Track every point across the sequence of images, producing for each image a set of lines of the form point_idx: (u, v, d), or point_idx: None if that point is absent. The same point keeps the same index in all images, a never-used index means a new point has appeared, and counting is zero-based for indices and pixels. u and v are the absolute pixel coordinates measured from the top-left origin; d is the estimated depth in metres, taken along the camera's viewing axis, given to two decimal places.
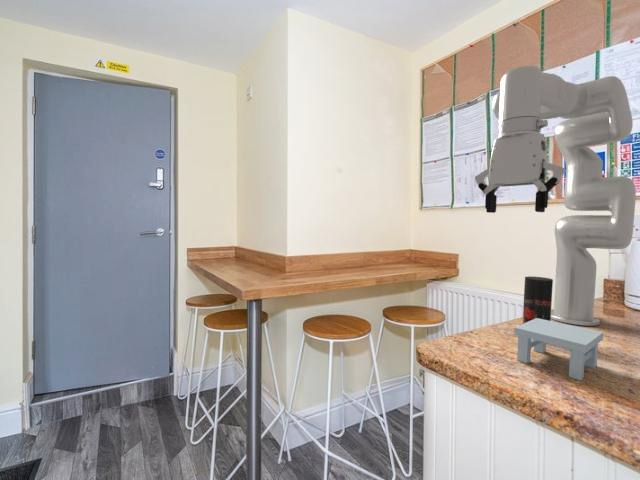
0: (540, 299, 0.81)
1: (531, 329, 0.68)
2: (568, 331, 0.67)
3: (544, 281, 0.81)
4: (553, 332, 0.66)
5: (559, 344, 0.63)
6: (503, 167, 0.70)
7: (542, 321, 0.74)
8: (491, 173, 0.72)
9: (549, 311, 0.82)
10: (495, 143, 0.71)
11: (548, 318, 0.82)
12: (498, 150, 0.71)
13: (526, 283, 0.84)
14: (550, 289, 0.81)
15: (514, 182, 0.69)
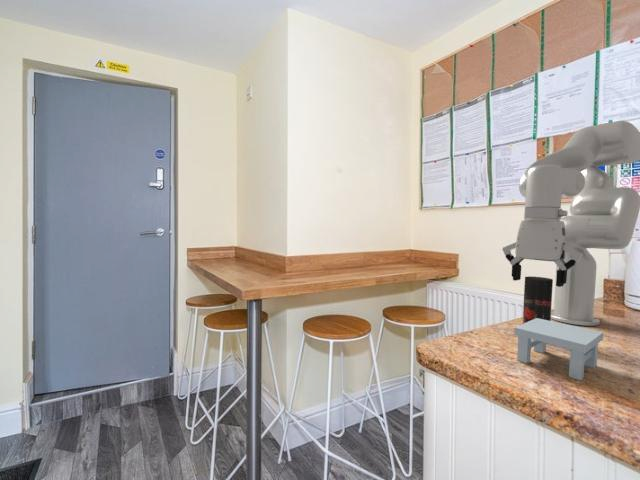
0: (540, 299, 0.81)
1: (531, 329, 0.68)
2: (568, 331, 0.67)
3: (544, 281, 0.81)
4: (553, 332, 0.66)
5: (559, 344, 0.63)
6: (529, 245, 0.83)
7: (542, 321, 0.74)
8: (518, 248, 0.85)
9: (549, 311, 0.82)
10: (521, 224, 0.84)
11: (548, 318, 0.82)
12: (524, 230, 0.84)
13: (526, 283, 0.84)
14: (550, 289, 0.81)
15: (538, 259, 0.82)
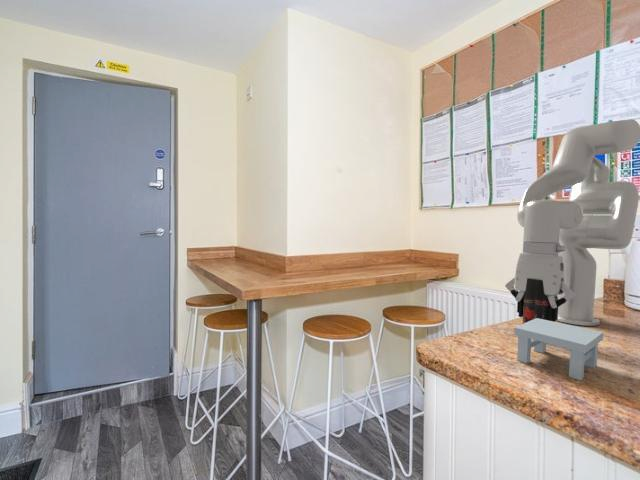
0: (540, 299, 0.81)
1: (531, 329, 0.68)
2: (568, 331, 0.67)
3: None
4: (553, 332, 0.66)
5: (559, 344, 0.63)
6: None
7: (542, 321, 0.74)
8: (517, 281, 0.86)
9: None
10: (520, 257, 0.85)
11: None
12: (523, 263, 0.84)
13: None
14: None
15: None
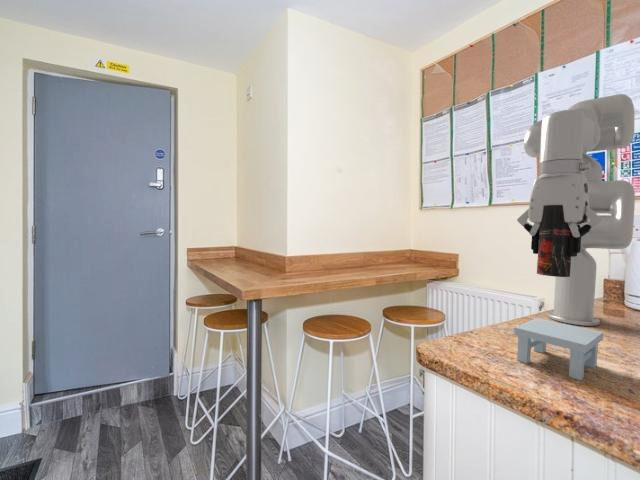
0: (559, 228, 0.69)
1: (531, 329, 0.68)
2: (568, 331, 0.67)
3: None
4: (553, 332, 0.66)
5: (559, 344, 0.63)
6: None
7: (542, 321, 0.74)
8: (531, 211, 0.73)
9: None
10: (536, 182, 0.73)
11: None
12: (539, 189, 0.72)
13: None
14: None
15: None
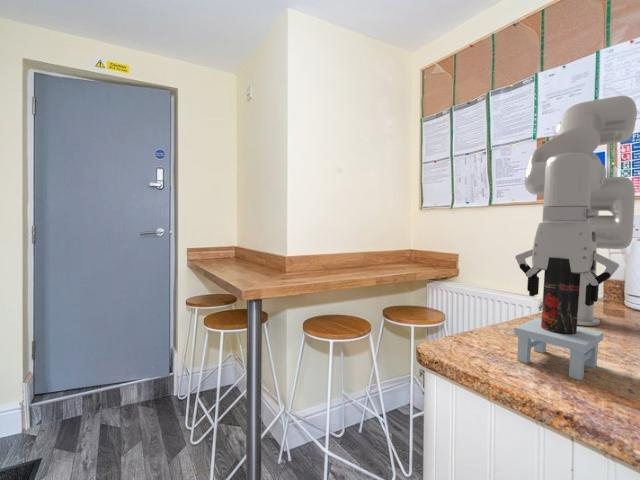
0: (566, 283, 0.65)
1: (531, 329, 0.68)
2: None
3: None
4: (553, 332, 0.66)
5: (559, 344, 0.63)
6: (549, 253, 0.67)
7: None
8: (535, 257, 0.69)
9: (577, 298, 0.65)
10: (540, 227, 0.68)
11: (575, 307, 0.65)
12: (543, 235, 0.68)
13: None
14: None
15: None
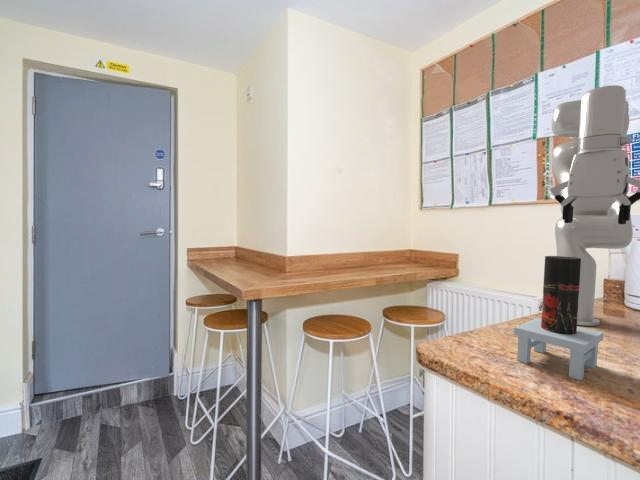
0: (565, 283, 0.65)
1: (531, 329, 0.68)
2: None
3: (570, 260, 0.64)
4: (553, 332, 0.66)
5: (559, 344, 0.63)
6: (584, 181, 0.74)
7: None
8: (570, 186, 0.76)
9: (576, 298, 0.65)
10: (575, 158, 0.75)
11: (575, 307, 0.65)
12: (578, 165, 0.74)
13: (547, 263, 0.67)
14: (578, 270, 0.65)
15: (595, 196, 0.73)
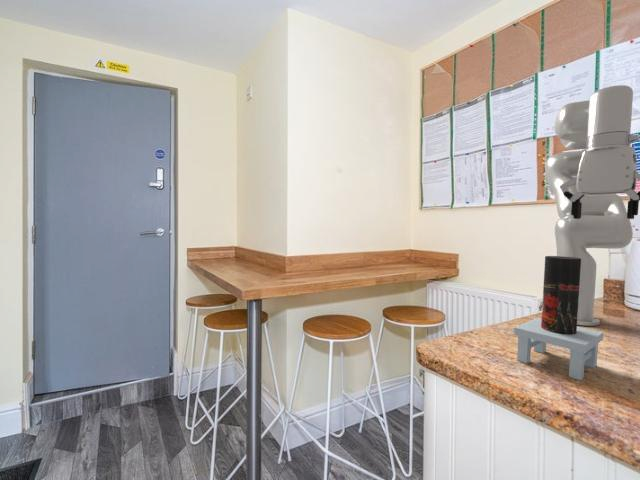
0: (565, 283, 0.65)
1: (531, 329, 0.68)
2: None
3: (570, 260, 0.64)
4: (553, 332, 0.66)
5: (559, 344, 0.63)
6: (593, 177, 0.76)
7: None
8: (579, 182, 0.78)
9: (576, 298, 0.65)
10: (584, 155, 0.77)
11: (575, 307, 0.65)
12: (587, 161, 0.77)
13: (547, 263, 0.67)
14: (578, 270, 0.65)
15: (604, 191, 0.75)
